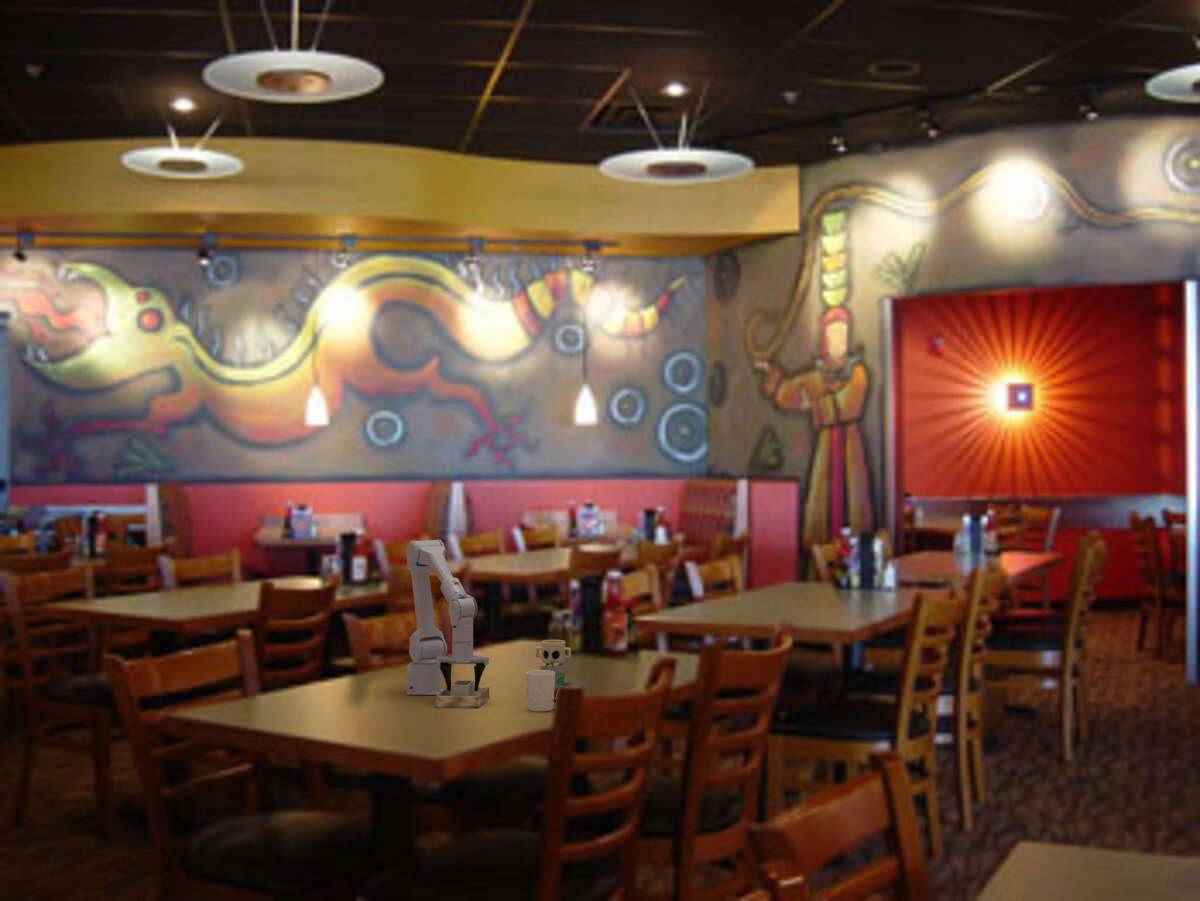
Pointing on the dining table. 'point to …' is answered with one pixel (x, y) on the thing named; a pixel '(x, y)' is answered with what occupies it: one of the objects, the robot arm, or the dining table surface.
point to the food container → (556, 673)
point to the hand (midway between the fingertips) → (462, 690)
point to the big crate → (462, 699)
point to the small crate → (462, 688)
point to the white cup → (540, 690)
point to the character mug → (553, 651)
